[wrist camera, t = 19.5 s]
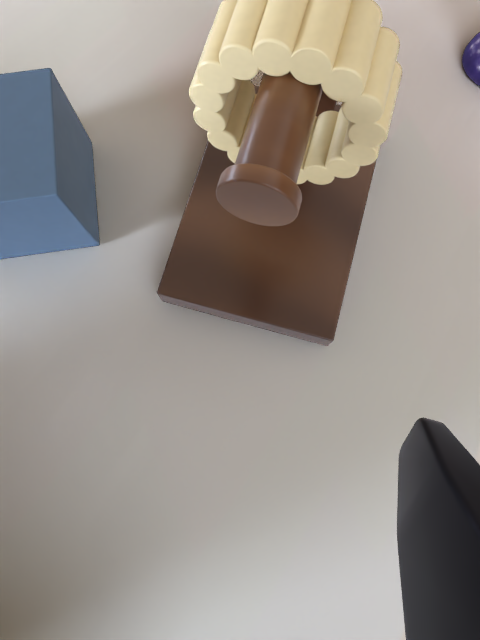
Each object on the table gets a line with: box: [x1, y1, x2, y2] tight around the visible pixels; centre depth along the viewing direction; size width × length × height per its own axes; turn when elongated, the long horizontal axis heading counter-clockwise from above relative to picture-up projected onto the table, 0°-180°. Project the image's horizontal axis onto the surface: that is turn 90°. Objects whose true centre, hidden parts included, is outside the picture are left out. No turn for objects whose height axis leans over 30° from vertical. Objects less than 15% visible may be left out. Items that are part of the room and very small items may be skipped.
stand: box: [157, 72, 376, 346], centre depth 18 cm, size 13×9×13 cm
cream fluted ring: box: [189, 0, 402, 185], centre depth 15 cm, size 3×7×7 cm, turn 74°
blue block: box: [0, 68, 100, 259], centre depth 22 cm, size 6×6×6 cm
